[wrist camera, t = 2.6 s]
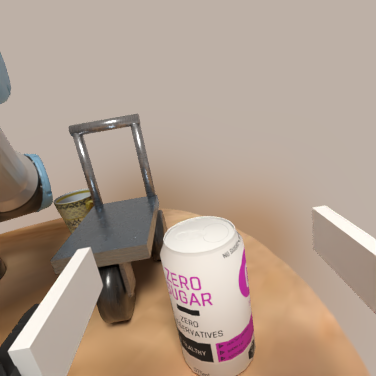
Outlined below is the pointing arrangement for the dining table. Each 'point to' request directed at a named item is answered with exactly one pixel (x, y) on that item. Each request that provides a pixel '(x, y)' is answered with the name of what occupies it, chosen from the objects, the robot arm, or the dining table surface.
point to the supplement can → (209, 295)
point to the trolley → (115, 227)
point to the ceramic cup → (74, 207)
